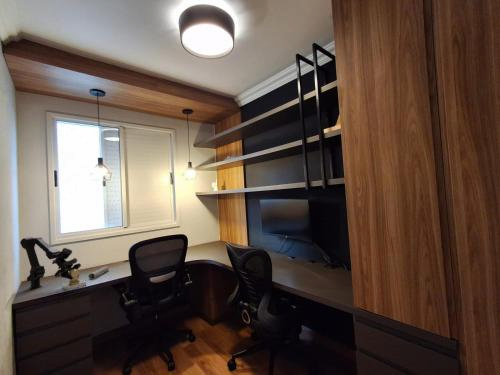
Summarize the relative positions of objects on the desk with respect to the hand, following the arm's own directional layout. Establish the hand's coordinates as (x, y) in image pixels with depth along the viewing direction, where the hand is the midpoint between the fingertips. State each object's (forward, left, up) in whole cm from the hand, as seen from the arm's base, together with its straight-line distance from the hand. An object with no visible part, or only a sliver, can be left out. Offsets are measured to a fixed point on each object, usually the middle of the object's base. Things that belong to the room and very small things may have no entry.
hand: (75, 277), depth 181 cm
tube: (-18, +23, -7) cm, 30 cm away
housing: (-1, -1, -7) cm, 7 cm away
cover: (-1, -1, -7) cm, 7 cm away
